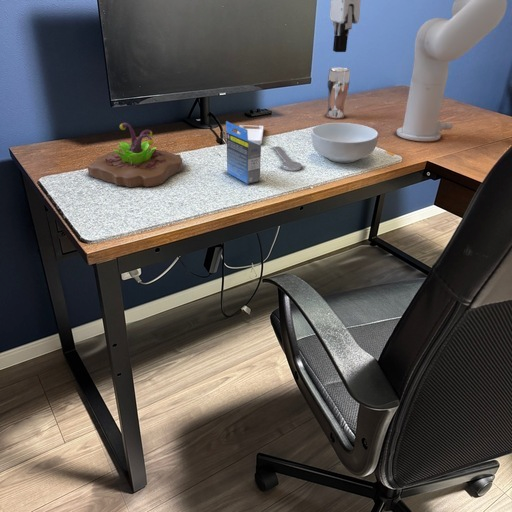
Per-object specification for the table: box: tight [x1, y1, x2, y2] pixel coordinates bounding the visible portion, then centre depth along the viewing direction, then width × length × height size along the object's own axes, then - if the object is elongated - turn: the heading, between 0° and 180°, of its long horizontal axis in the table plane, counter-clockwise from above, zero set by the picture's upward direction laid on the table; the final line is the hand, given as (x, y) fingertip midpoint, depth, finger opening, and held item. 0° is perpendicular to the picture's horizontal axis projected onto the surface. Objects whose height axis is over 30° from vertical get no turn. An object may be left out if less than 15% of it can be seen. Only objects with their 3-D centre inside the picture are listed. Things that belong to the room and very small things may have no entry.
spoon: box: [273, 146, 302, 172], centre depth 125 cm, size 5×17×1 cm, turn 12°
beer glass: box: [325, 66, 351, 120], centre depth 159 cm, size 7×7×15 cm
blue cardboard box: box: [225, 120, 262, 185], centre depth 110 cm, size 9×4×12 cm, turn 35°
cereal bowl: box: [310, 122, 379, 164], centre depth 125 cm, size 17×17×7 cm
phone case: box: [236, 124, 265, 146], centre depth 140 cm, size 7×1×15 cm
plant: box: [87, 122, 183, 188], centre depth 112 cm, size 20×20×11 cm
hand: (339, 51), depth 132 cm, fingers closed
